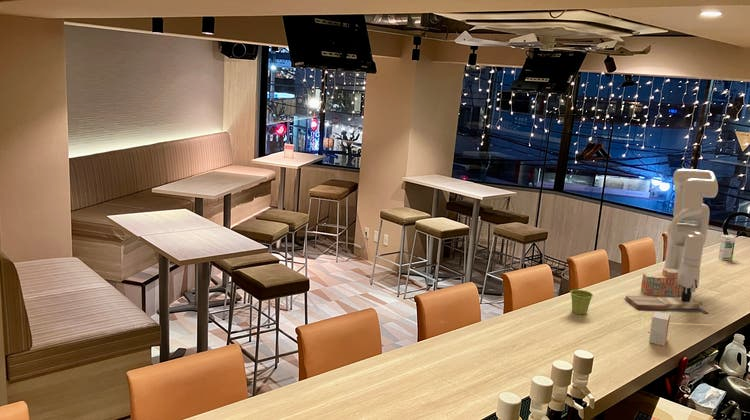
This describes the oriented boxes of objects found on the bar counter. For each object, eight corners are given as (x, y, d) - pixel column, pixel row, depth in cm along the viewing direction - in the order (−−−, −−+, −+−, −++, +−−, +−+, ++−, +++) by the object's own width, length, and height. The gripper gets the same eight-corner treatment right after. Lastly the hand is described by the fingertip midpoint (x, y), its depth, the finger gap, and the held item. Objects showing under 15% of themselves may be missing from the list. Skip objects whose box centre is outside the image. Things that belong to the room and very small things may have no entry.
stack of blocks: (644, 295, 283) (648, 270, 280) (640, 291, 289) (643, 267, 287) (691, 298, 281) (695, 273, 279) (685, 294, 287) (689, 269, 285)
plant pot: (594, 312, 256) (596, 293, 255) (585, 318, 249) (587, 298, 248) (574, 306, 262) (576, 288, 261) (564, 312, 256) (566, 292, 254)
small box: (664, 346, 223) (668, 320, 221) (648, 342, 226) (652, 316, 224) (667, 339, 230) (670, 314, 228) (651, 336, 233) (654, 310, 231)
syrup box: (721, 260, 354) (725, 236, 351) (717, 257, 360) (721, 234, 357) (732, 260, 353) (736, 237, 351) (728, 258, 359) (731, 235, 356)
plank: (665, 308, 263) (665, 304, 263) (655, 301, 272) (655, 297, 272) (700, 308, 264) (701, 304, 263) (689, 301, 273) (690, 297, 272)
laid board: (625, 299, 273) (625, 295, 273) (653, 300, 274) (653, 296, 273) (637, 309, 262) (637, 304, 261) (666, 309, 262) (666, 305, 262)
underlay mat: (623, 299, 275) (623, 298, 275) (688, 301, 276) (688, 300, 276) (638, 311, 260) (639, 310, 260) (708, 313, 261) (708, 312, 260)
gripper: (674, 257, 271) (668, 295, 274) (692, 266, 256) (686, 306, 260) (690, 258, 271) (684, 296, 275) (709, 266, 257) (703, 307, 260)
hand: (685, 301), depth 267 cm, fingers closed
